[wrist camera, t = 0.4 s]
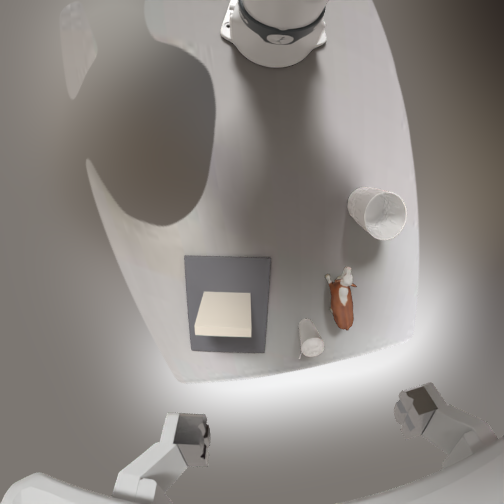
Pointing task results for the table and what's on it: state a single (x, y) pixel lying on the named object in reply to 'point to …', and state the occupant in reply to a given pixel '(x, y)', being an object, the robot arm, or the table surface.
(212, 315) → the tile
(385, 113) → the table surface
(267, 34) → the robot arm
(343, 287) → the bull figurine
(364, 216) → the white cup
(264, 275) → the mat
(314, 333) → the milkshake
